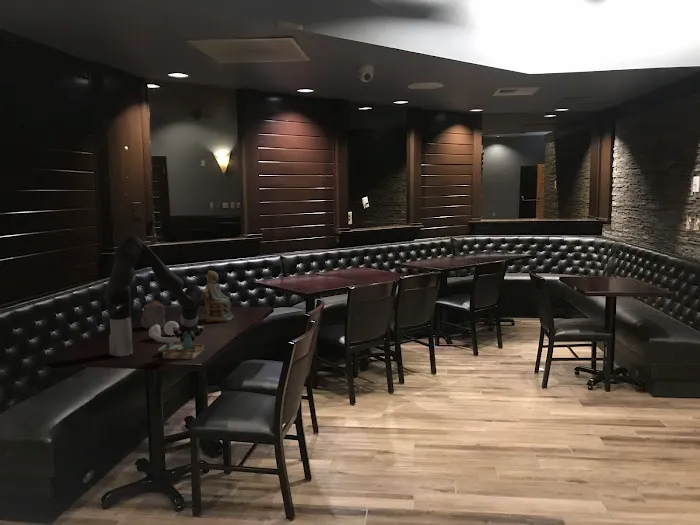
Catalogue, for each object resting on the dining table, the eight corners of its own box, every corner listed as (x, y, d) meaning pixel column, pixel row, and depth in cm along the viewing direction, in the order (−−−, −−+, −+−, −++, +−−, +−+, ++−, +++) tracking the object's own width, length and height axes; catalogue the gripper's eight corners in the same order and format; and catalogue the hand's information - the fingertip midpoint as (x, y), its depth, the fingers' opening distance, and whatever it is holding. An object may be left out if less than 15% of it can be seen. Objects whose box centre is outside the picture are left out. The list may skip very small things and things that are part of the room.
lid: (158, 351, 269) (157, 342, 268) (164, 346, 277) (164, 338, 277) (175, 351, 268) (175, 343, 268) (182, 346, 277) (181, 338, 276)
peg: (182, 352, 270) (181, 328, 269) (185, 349, 274) (184, 326, 273) (190, 352, 270) (189, 328, 269) (193, 349, 274) (192, 326, 273)
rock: (173, 326, 333) (172, 300, 331) (158, 330, 322) (157, 304, 320) (154, 324, 339) (153, 298, 337) (139, 328, 328) (138, 302, 326)
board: (162, 358, 265) (162, 351, 265) (175, 349, 281) (175, 342, 281) (193, 358, 264) (192, 351, 264) (204, 349, 280) (203, 342, 280)
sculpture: (227, 324, 336) (225, 273, 333) (200, 324, 336) (198, 273, 333) (236, 316, 360) (235, 268, 357) (211, 316, 361) (209, 268, 357)
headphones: (144, 340, 300) (171, 348, 290) (144, 325, 299) (171, 333, 289) (173, 332, 317) (200, 340, 307) (173, 318, 316) (200, 325, 306)
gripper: (173, 327, 256) (172, 348, 269) (206, 325, 262) (203, 345, 274) (171, 313, 261) (170, 335, 273) (204, 311, 266) (201, 332, 278)
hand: (187, 340), depth 274 cm, fingers closed on peg, 3 cm apart
